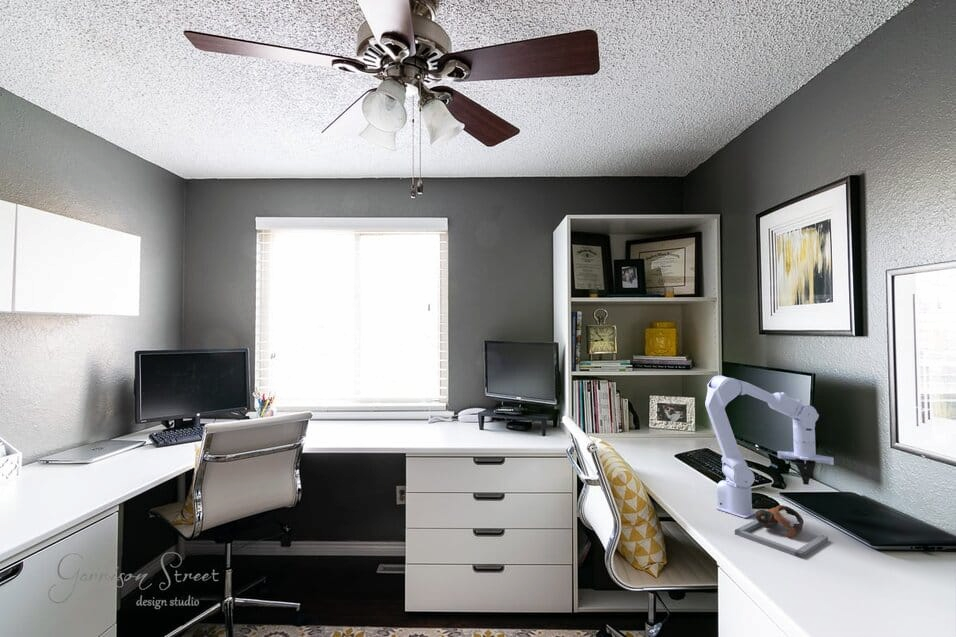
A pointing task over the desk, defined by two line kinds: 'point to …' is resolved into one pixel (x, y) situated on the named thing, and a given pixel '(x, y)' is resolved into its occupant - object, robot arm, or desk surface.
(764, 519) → the orange curved piece
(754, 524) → the frame
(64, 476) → the desk surface
